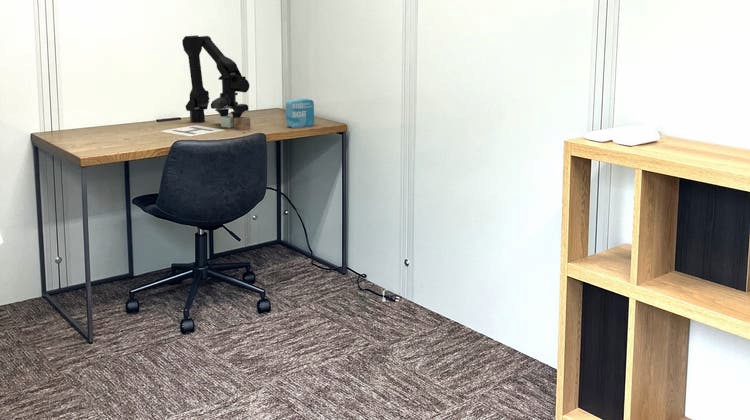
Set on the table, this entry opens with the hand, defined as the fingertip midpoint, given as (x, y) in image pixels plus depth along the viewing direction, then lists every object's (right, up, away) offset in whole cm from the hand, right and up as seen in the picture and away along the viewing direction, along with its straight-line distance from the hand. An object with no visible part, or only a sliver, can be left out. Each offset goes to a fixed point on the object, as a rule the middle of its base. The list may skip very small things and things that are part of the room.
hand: (230, 125), depth 407 cm
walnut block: (+6, -3, -7) cm, 10 cm away
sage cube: (0, -1, 0) cm, 1 cm away
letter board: (-14, -4, -11) cm, 18 cm away
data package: (+31, 0, +6) cm, 31 cm away
